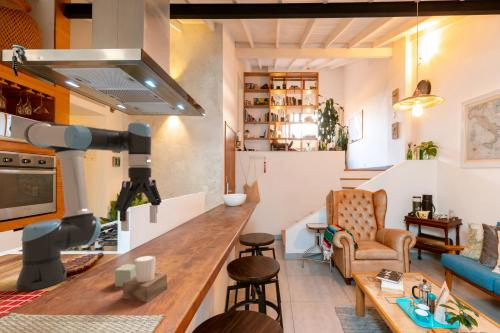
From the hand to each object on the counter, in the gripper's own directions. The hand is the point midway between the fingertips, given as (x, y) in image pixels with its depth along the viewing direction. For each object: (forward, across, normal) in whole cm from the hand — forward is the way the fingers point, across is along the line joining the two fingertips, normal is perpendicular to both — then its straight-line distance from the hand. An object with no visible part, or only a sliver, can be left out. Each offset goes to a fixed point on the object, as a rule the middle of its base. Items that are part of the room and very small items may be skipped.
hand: (140, 226), depth 93 cm
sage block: (+23, +3, +9) cm, 25 cm away
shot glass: (+18, -2, -4) cm, 18 cm away
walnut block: (+22, -2, -4) cm, 23 cm away
